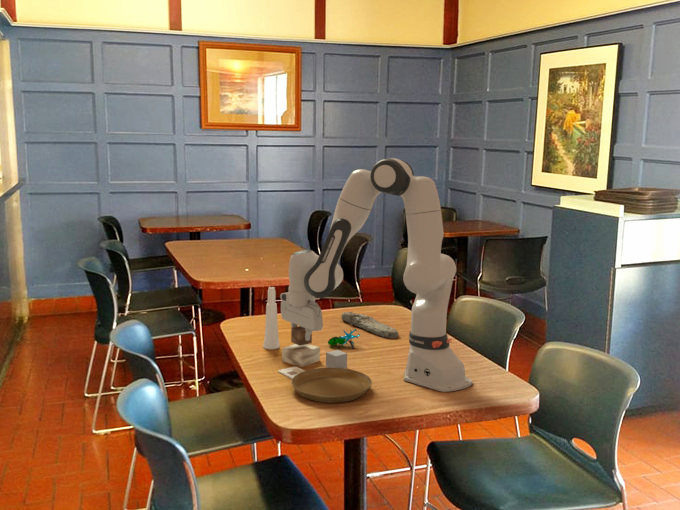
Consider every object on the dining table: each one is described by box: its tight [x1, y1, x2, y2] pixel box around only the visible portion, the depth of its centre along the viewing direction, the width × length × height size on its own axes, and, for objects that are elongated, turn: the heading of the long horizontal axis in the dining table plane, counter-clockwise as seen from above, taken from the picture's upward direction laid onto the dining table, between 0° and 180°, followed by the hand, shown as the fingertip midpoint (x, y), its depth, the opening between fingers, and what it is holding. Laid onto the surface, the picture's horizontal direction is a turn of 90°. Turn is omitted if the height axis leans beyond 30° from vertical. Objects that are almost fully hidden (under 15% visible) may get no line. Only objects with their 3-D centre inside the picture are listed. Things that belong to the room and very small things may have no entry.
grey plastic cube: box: [325, 349, 348, 369], centre depth 224 cm, size 5×5×5 cm
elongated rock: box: [340, 311, 399, 339], centre depth 273 cm, size 35×5×10 cm
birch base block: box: [281, 343, 321, 368], centre depth 230 cm, size 9×9×5 cm
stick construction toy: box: [327, 328, 361, 350], centre depth 247 cm, size 12×7×8 cm
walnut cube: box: [290, 325, 313, 346], centre depth 229 cm, size 5×5×5 cm
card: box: [277, 365, 305, 380], centre depth 217 cm, size 10×7×1 cm
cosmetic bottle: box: [262, 286, 281, 350], centre depth 243 cm, size 6×6×22 cm
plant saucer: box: [291, 367, 373, 404], centre depth 204 cm, size 24×24×3 cm
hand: (301, 337), depth 229 cm, fingers closed on walnut cube, 5 cm apart
